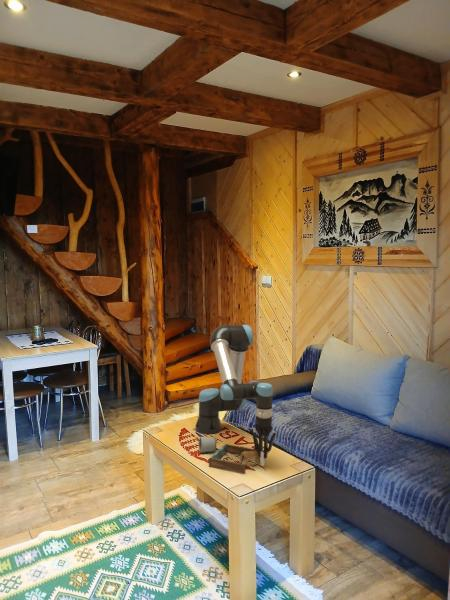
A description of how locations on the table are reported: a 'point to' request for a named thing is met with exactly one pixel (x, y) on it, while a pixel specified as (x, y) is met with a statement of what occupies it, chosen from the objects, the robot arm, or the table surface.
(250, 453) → the lion figurine
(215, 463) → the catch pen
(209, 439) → the ceramic mug
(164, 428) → the table surface
